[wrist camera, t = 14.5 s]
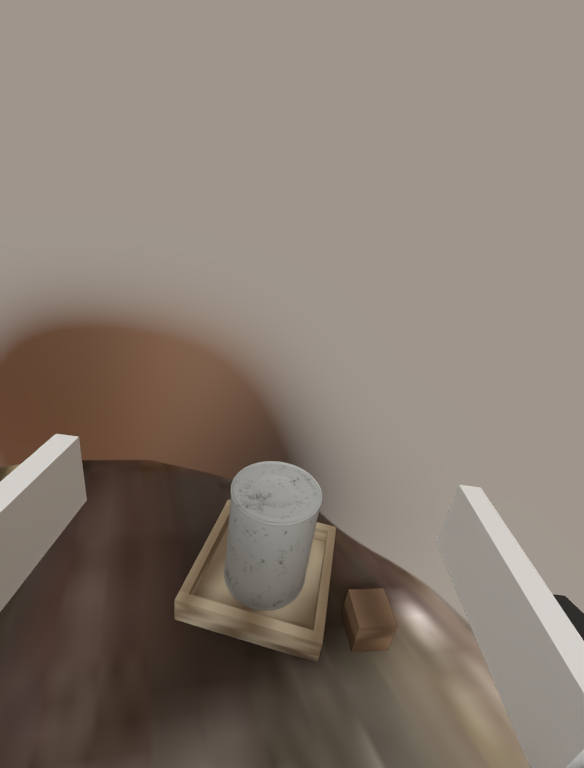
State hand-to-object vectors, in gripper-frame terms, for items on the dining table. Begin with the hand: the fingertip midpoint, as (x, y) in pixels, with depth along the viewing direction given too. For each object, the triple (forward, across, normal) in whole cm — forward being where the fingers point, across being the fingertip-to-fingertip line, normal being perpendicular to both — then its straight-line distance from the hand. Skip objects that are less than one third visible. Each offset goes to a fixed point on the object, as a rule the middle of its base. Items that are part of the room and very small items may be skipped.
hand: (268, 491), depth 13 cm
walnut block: (+15, +12, -30) cm, 36 cm away
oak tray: (+20, +1, -30) cm, 36 cm away
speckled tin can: (+20, +1, -29) cm, 35 cm away
